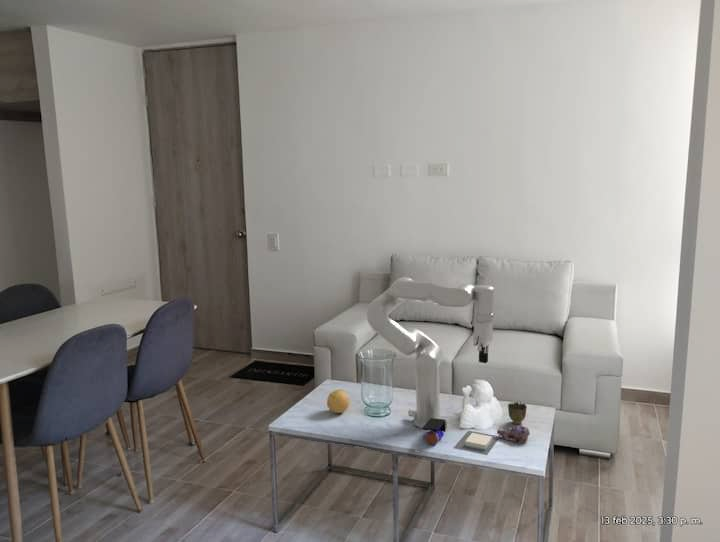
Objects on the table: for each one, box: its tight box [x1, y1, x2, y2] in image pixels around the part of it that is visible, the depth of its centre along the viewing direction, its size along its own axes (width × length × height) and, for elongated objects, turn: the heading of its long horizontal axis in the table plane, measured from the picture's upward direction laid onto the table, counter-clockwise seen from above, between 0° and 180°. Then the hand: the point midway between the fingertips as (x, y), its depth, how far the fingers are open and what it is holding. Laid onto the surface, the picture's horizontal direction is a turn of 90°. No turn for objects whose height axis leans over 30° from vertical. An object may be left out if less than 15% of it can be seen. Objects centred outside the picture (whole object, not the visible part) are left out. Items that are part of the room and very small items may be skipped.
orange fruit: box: [326, 389, 351, 414], centre depth 258 cm, size 10×10×10 cm
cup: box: [507, 401, 527, 426], centre depth 241 cm, size 8×7×8 cm
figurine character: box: [421, 418, 448, 446], centre depth 230 cm, size 7×8×15 cm
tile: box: [465, 433, 492, 450], centre depth 224 cm, size 8×2×8 cm
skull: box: [496, 425, 531, 444], centre depth 227 cm, size 12×8×6 cm, turn 60°
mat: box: [453, 430, 501, 456], centre depth 225 cm, size 13×17×1 cm
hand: (483, 362), depth 233 cm, fingers closed
